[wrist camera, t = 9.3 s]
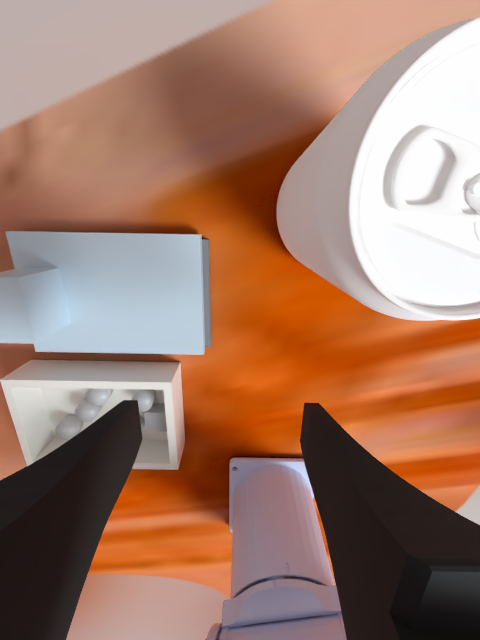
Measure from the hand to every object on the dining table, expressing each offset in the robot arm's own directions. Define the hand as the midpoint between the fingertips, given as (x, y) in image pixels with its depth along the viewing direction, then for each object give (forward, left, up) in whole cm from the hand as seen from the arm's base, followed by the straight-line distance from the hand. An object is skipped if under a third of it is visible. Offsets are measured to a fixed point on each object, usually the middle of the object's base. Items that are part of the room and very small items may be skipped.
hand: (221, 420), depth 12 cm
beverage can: (+9, -7, -10) cm, 15 cm away
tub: (-6, +10, -10) cm, 16 cm away
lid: (+3, +8, -10) cm, 13 cm away
